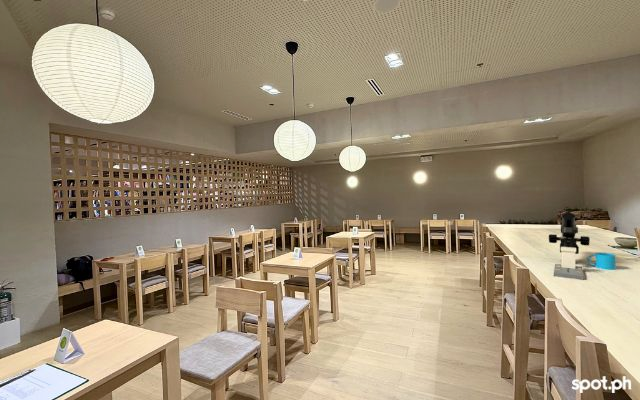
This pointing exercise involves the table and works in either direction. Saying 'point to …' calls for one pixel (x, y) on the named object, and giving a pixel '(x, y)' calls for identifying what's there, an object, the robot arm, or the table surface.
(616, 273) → the table surface
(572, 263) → the cream lidded box
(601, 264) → the mug
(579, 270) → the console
